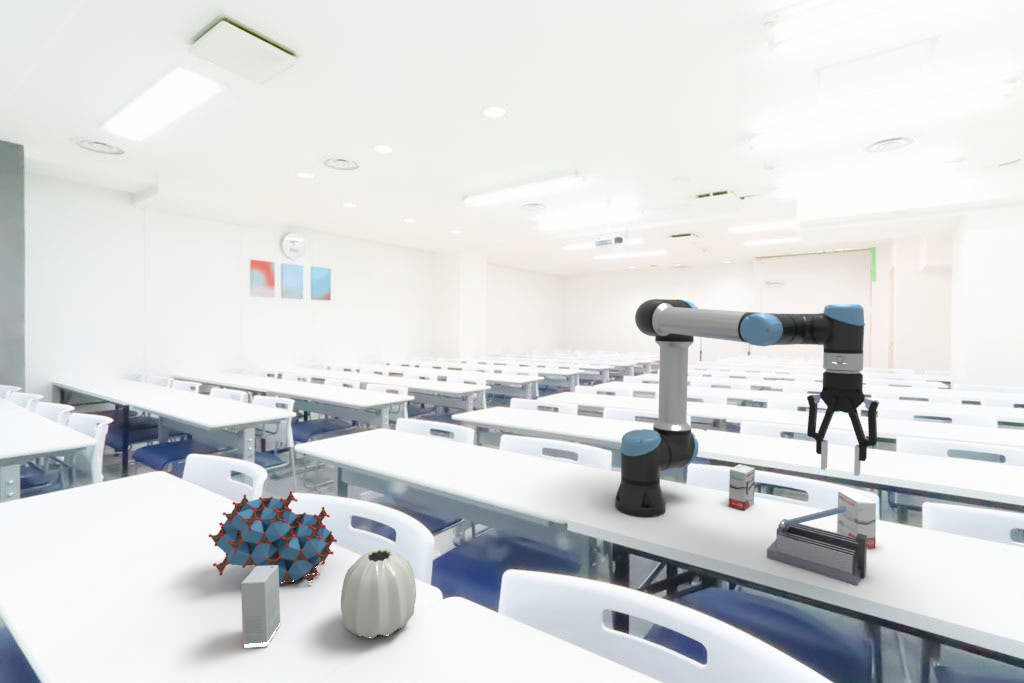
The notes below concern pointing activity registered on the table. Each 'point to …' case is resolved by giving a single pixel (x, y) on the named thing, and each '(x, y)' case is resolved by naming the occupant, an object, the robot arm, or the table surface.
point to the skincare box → (260, 604)
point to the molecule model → (274, 538)
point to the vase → (378, 594)
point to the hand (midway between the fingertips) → (840, 471)
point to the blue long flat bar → (811, 517)
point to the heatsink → (821, 552)
